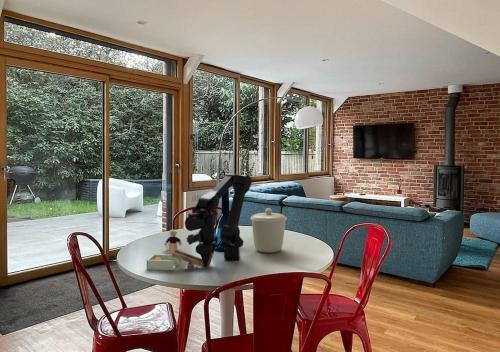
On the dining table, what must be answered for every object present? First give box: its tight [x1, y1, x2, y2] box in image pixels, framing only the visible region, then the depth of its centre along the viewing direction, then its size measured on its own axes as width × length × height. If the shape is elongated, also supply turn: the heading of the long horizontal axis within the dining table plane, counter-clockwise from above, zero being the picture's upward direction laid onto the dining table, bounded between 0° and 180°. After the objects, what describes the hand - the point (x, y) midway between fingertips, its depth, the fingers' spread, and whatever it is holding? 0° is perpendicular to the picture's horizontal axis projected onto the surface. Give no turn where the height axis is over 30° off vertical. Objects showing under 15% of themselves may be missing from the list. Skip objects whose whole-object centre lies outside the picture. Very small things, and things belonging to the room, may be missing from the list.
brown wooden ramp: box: [172, 249, 215, 270], centre depth 157 cm, size 16×5×6 cm, turn 86°
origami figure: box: [163, 241, 182, 253], centre depth 186 cm, size 12×8×5 cm
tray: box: [146, 253, 180, 271], centre depth 158 cm, size 11×9×4 cm
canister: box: [250, 207, 288, 254], centre depth 184 cm, size 18×18×21 cm
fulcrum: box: [182, 262, 198, 271], centre depth 157 cm, size 5×6×2 cm
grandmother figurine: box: [164, 229, 183, 255], centre depth 174 cm, size 8×4×13 cm, turn 105°
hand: (207, 263), depth 157 cm, fingers open, 9 cm apart
